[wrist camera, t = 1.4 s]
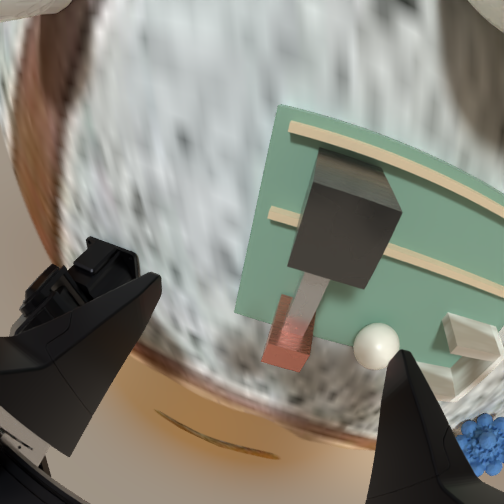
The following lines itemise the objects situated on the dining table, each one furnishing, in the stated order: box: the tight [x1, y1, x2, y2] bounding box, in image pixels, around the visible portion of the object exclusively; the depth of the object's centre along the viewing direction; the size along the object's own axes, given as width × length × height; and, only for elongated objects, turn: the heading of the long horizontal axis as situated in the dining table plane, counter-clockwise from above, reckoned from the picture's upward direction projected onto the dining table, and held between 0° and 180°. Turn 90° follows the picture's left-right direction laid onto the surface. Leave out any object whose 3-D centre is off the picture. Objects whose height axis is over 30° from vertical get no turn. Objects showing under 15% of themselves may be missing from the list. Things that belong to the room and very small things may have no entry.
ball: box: [353, 323, 400, 370], centre depth 22 cm, size 4×4×4 cm
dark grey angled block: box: [261, 147, 403, 372], centre depth 18 cm, size 14×4×6 cm, turn 170°
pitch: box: [234, 104, 504, 368], centre depth 20 cm, size 18×26×2 cm
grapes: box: [455, 414, 504, 477], centre depth 25 cm, size 12×7×12 cm, turn 123°
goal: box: [416, 312, 504, 402], centre depth 22 cm, size 8×7×5 cm
